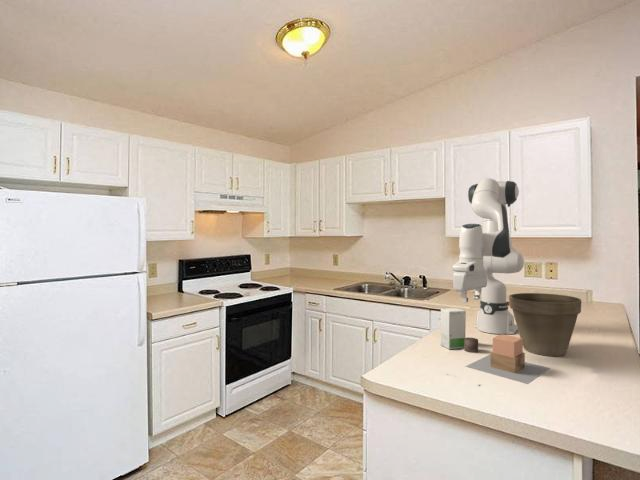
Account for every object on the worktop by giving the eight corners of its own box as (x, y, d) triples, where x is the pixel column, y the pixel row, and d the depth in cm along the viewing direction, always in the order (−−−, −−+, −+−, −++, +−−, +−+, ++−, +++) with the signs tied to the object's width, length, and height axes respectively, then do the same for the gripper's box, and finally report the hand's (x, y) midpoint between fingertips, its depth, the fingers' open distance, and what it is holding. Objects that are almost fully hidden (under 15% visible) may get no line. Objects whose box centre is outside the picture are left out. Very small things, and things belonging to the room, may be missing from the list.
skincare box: (448, 349, 151) (448, 311, 151) (439, 345, 157) (439, 308, 157) (466, 348, 153) (466, 310, 153) (456, 343, 159) (456, 307, 159)
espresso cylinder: (468, 351, 149) (468, 336, 148) (480, 354, 145) (480, 339, 145) (461, 354, 145) (461, 339, 145) (474, 357, 141) (474, 341, 141)
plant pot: (495, 345, 157) (495, 294, 156) (537, 339, 165) (537, 290, 165) (550, 364, 133) (550, 304, 133) (596, 356, 142) (597, 299, 141)
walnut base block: (500, 361, 133) (500, 347, 132) (524, 367, 126) (524, 352, 126) (490, 366, 127) (490, 352, 127) (515, 373, 121) (515, 358, 121)
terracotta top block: (501, 348, 132) (501, 334, 132) (522, 352, 126) (522, 338, 126) (492, 352, 127) (492, 337, 127) (514, 357, 122) (514, 342, 122)
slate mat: (491, 357, 141) (491, 353, 141) (550, 372, 126) (550, 368, 126) (465, 370, 128) (465, 366, 128) (527, 388, 113) (527, 384, 113)
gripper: (476, 263, 154) (476, 296, 154) (450, 266, 140) (450, 302, 140) (491, 264, 149) (491, 298, 149) (465, 267, 135) (465, 305, 136)
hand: (471, 300), depth 145 cm, fingers open, 8 cm apart
